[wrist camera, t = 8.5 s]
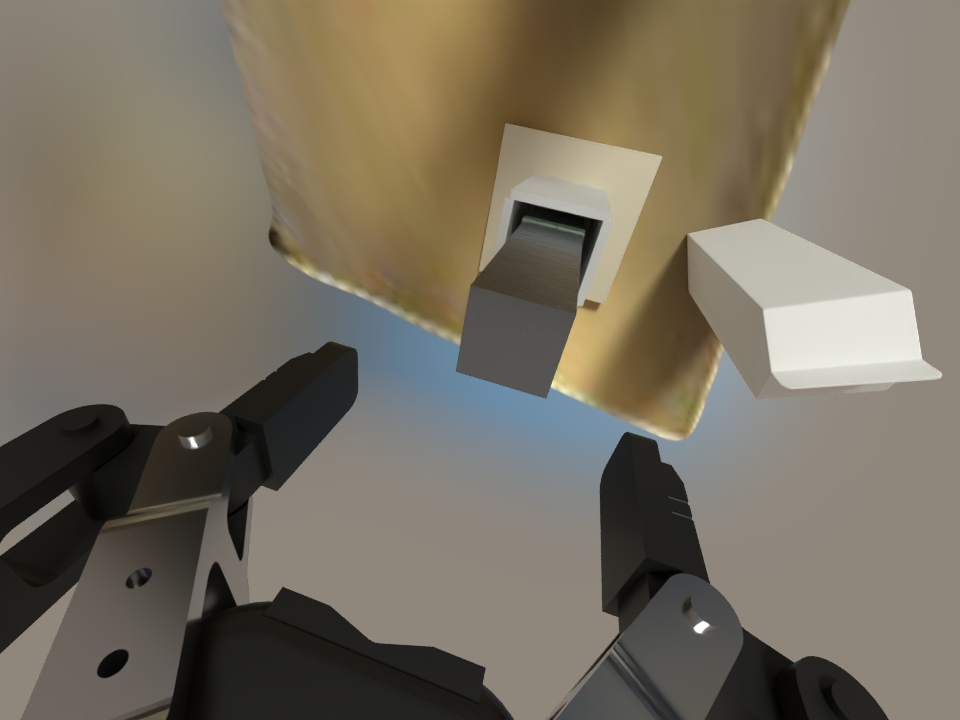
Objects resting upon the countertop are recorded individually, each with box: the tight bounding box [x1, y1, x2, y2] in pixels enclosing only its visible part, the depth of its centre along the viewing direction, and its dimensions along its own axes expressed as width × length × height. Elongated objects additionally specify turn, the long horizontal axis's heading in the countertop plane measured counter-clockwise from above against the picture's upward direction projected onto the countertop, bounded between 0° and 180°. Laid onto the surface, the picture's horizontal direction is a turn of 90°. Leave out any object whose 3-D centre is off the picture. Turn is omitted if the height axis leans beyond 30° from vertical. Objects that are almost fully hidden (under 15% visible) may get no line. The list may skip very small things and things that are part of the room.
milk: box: [687, 219, 942, 399], centre depth 26 cm, size 6×6×22 cm
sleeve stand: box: [479, 123, 663, 308], centre depth 31 cm, size 14×14×15 cm
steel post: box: [456, 206, 585, 398], centre depth 23 cm, size 5×4×19 cm
